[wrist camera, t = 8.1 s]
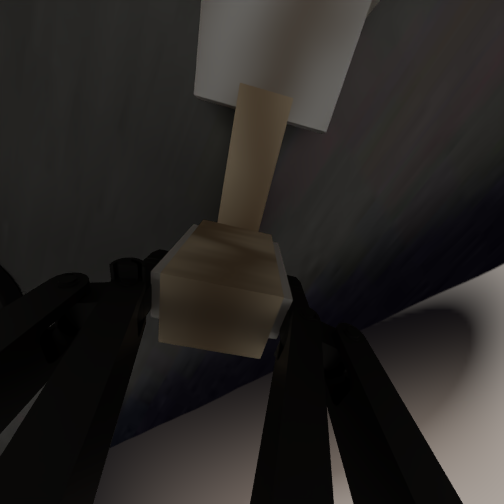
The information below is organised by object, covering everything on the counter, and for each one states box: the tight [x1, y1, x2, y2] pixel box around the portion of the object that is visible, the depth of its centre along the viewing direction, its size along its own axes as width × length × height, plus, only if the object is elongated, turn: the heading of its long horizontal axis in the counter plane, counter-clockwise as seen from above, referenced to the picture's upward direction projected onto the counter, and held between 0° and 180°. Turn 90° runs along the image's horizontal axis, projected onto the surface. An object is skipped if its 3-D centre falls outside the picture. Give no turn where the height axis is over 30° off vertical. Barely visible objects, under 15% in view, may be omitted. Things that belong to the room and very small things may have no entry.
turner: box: [159, 0, 372, 359], centre depth 11 cm, size 8×23×8 cm, turn 167°
